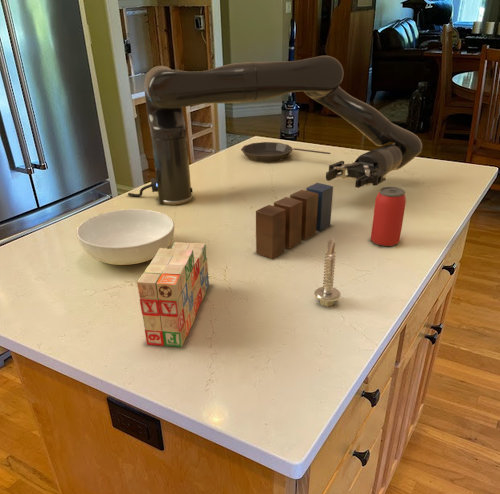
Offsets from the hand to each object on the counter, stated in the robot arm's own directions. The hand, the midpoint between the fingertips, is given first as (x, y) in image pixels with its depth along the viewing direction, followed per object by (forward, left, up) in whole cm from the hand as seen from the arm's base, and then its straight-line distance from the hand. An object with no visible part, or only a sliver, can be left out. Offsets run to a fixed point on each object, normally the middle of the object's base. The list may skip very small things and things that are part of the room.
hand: (341, 180), depth 127 cm
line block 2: (-17, -13, -9) cm, 24 cm away
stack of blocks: (-44, -38, -9) cm, 59 cm away
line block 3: (-13, -10, -9) cm, 18 cm away
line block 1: (-22, -17, -9) cm, 30 cm away
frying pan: (0, +52, -9) cm, 53 cm away
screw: (-17, -41, -9) cm, 45 cm away
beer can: (+5, -18, -9) cm, 21 cm away
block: (-8, -6, -9) cm, 13 cm away
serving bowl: (-53, -11, -9) cm, 55 cm away
